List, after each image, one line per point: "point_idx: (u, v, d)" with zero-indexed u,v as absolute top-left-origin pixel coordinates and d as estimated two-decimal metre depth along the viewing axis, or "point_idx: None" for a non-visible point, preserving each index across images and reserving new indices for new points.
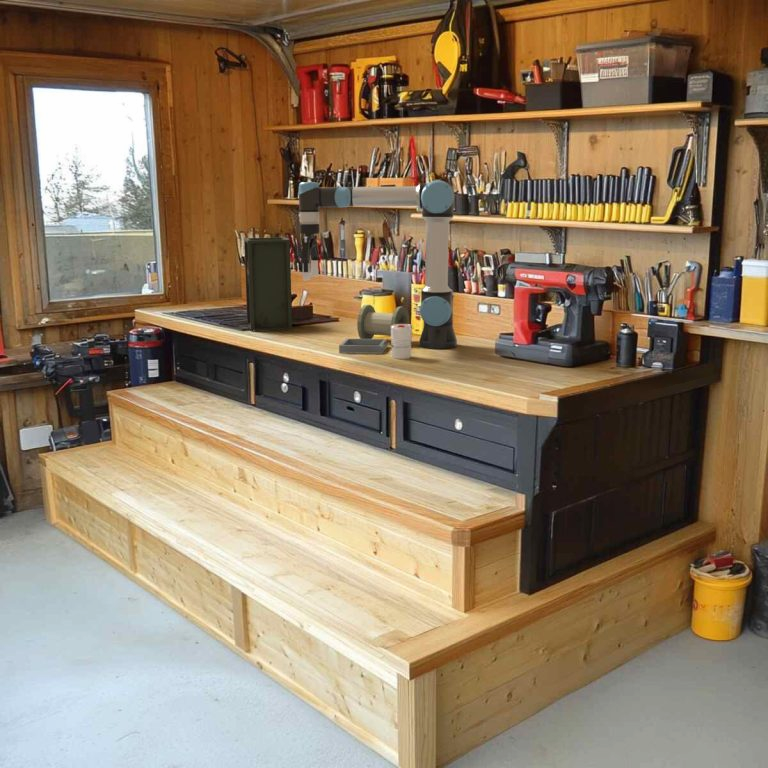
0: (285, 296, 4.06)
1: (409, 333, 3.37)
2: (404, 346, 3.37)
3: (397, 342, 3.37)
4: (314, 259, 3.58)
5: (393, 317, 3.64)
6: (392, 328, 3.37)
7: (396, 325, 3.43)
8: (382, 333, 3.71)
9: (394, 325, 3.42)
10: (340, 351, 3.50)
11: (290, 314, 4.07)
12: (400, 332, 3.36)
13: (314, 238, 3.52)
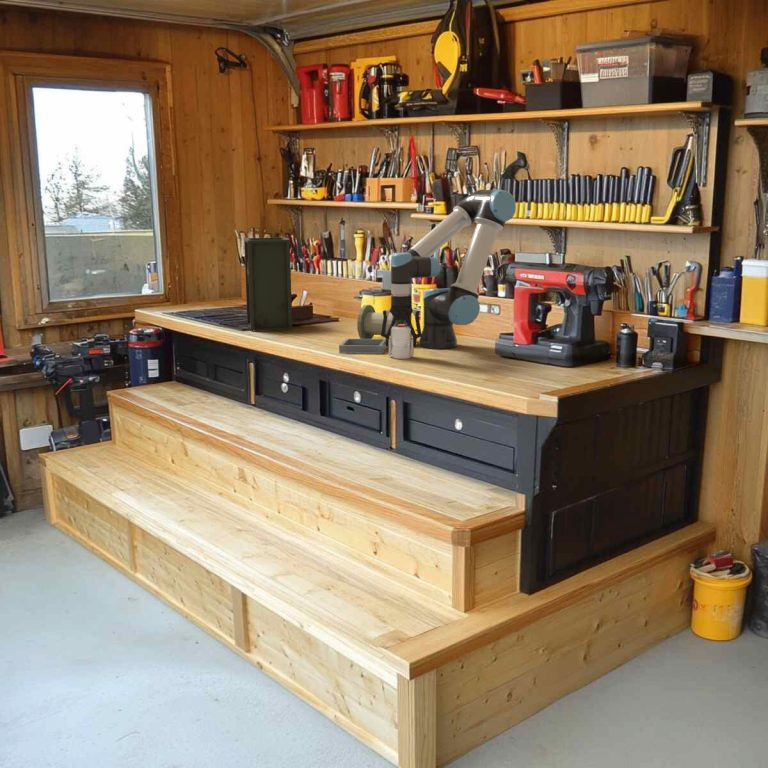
0: (285, 296, 4.06)
1: (409, 333, 3.37)
2: (403, 346, 3.37)
3: (397, 342, 3.37)
4: (413, 337, 3.39)
5: (393, 317, 3.64)
6: (392, 328, 3.37)
7: (396, 325, 3.43)
8: None
9: (394, 325, 3.42)
10: (340, 351, 3.50)
11: (290, 314, 4.07)
12: (400, 332, 3.36)
13: (409, 311, 3.37)
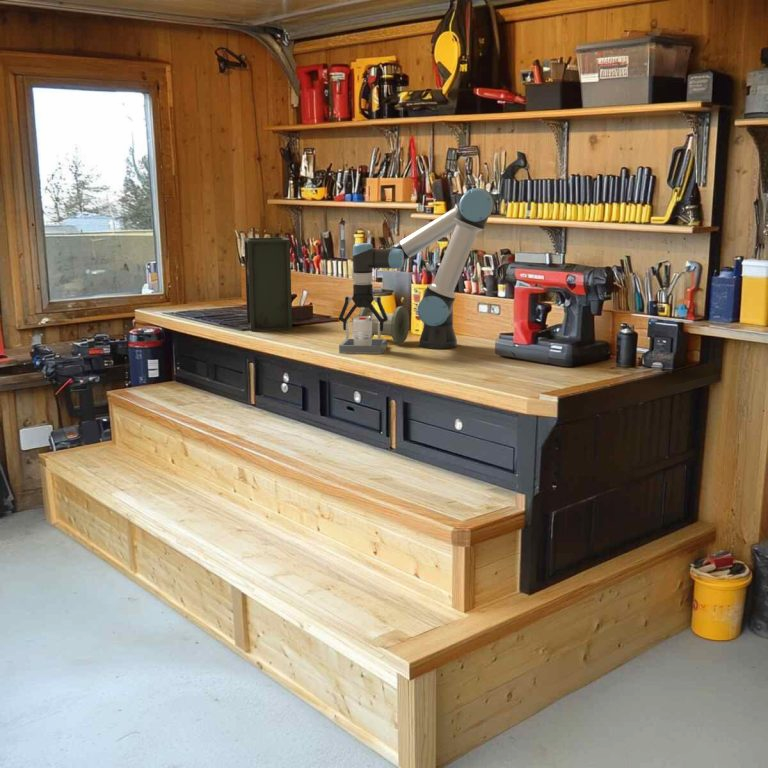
0: (285, 296, 4.06)
1: (369, 325, 3.53)
2: (364, 338, 3.53)
3: (358, 334, 3.52)
4: None
5: (393, 317, 3.64)
6: (353, 320, 3.53)
7: (358, 317, 3.58)
8: (382, 333, 3.71)
9: (356, 317, 3.58)
10: (340, 351, 3.50)
11: (290, 314, 4.07)
12: (361, 324, 3.51)
13: (370, 299, 3.52)
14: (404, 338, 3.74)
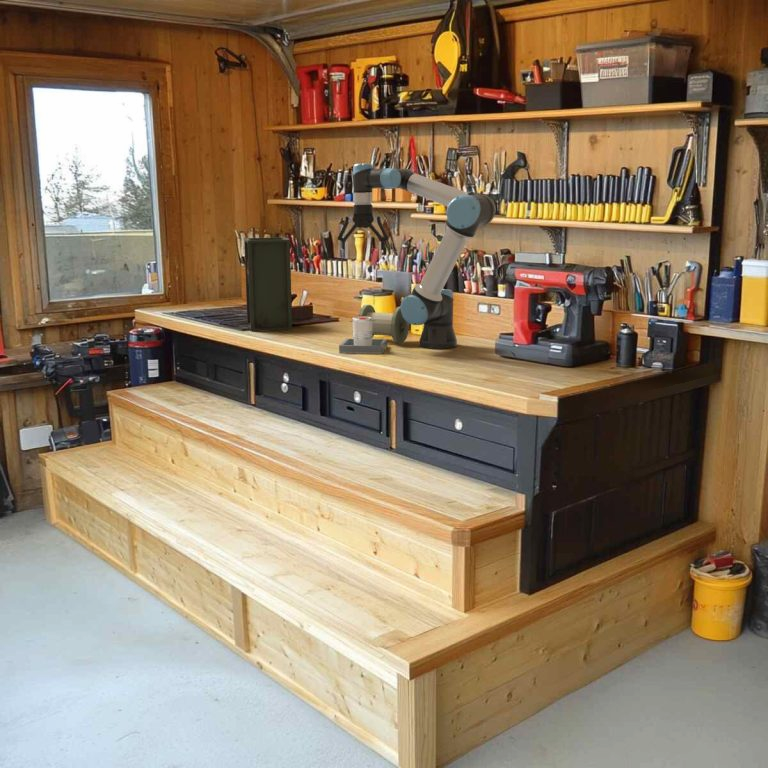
0: (285, 296, 4.06)
1: (370, 325, 3.53)
2: (364, 338, 3.53)
3: (358, 334, 3.53)
4: (381, 240, 3.59)
5: (393, 317, 3.64)
6: (353, 320, 3.53)
7: (358, 317, 3.58)
8: (382, 333, 3.71)
9: (356, 317, 3.58)
10: (340, 351, 3.50)
11: (290, 314, 4.07)
12: (361, 324, 3.51)
13: (370, 219, 3.57)
14: (404, 338, 3.74)
